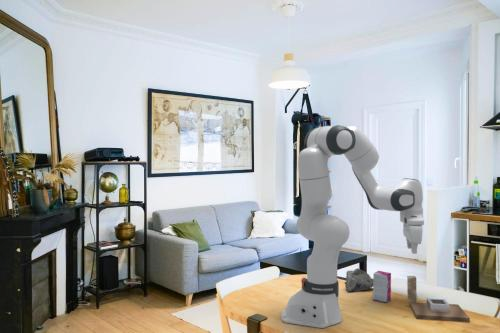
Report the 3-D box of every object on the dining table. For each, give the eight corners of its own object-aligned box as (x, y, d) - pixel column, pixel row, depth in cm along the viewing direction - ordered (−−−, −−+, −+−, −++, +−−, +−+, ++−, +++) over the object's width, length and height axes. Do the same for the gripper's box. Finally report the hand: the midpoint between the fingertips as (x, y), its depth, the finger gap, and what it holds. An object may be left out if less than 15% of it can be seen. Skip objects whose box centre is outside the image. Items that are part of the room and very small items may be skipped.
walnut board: (416, 318, 151) (416, 314, 151) (409, 305, 165) (409, 301, 165) (469, 322, 147) (469, 318, 147) (457, 308, 161) (457, 304, 161)
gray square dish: (430, 312, 153) (430, 304, 153) (426, 305, 160) (426, 298, 160) (449, 313, 152) (449, 305, 152) (444, 306, 159) (444, 299, 159)
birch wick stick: (408, 301, 169) (408, 277, 169) (407, 299, 172) (407, 275, 172) (416, 302, 168) (416, 278, 168) (415, 299, 171) (414, 276, 171)
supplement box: (386, 303, 167) (386, 275, 167) (372, 300, 171) (372, 273, 171) (391, 299, 172) (391, 272, 172) (377, 296, 176) (377, 270, 175)
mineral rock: (377, 289, 187) (377, 267, 186) (373, 296, 177) (372, 272, 177) (348, 285, 192) (348, 264, 192) (343, 292, 183) (343, 269, 183)
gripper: (399, 214, 180) (399, 245, 181) (407, 221, 160) (408, 256, 161) (414, 214, 179) (414, 245, 179) (424, 221, 159) (425, 256, 159)
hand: (411, 250), depth 170 cm, fingers open, 8 cm apart
